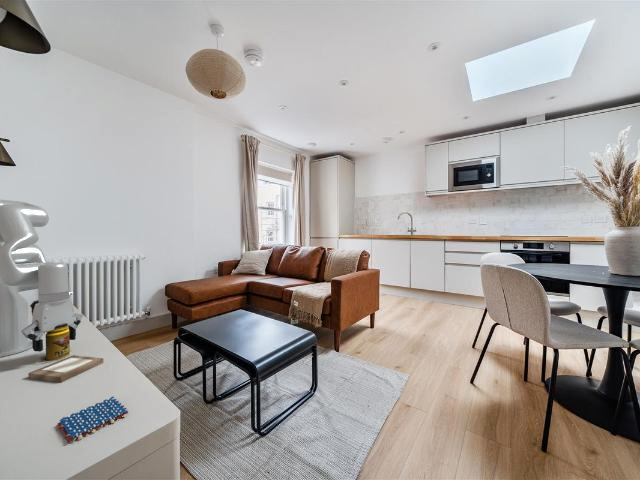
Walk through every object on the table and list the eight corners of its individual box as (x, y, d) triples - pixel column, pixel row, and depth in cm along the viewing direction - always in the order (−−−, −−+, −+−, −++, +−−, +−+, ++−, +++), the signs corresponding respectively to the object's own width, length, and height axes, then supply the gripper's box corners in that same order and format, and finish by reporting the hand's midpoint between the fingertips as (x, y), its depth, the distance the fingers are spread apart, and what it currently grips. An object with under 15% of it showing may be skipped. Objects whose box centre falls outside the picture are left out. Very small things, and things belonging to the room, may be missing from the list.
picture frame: (28, 377, 78) (28, 372, 78) (73, 359, 89) (73, 354, 89) (61, 382, 75) (61, 376, 75) (103, 362, 87) (103, 357, 87)
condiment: (68, 358, 90) (67, 325, 90) (33, 365, 86) (33, 329, 86) (73, 350, 96) (73, 319, 96) (41, 356, 92) (41, 323, 92)
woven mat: (55, 427, 58) (55, 419, 58) (113, 402, 66) (113, 394, 66) (68, 448, 52) (68, 439, 52) (129, 417, 61) (129, 409, 61)
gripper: (73, 292, 100) (75, 335, 100) (12, 303, 83) (14, 355, 83) (88, 292, 99) (90, 336, 99) (30, 303, 82) (31, 356, 82)
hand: (55, 345), depth 91 cm, fingers open, 9 cm apart
